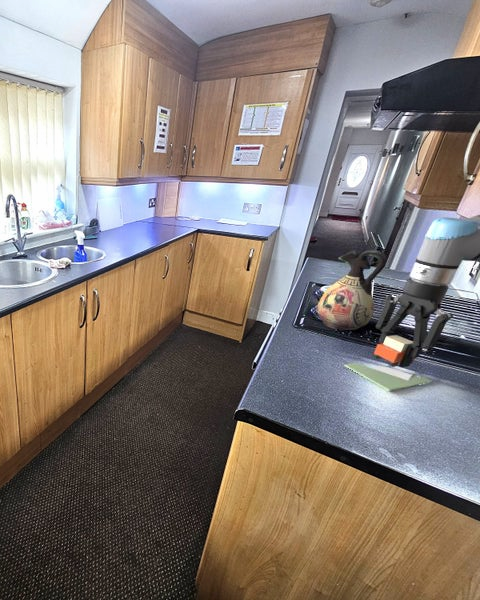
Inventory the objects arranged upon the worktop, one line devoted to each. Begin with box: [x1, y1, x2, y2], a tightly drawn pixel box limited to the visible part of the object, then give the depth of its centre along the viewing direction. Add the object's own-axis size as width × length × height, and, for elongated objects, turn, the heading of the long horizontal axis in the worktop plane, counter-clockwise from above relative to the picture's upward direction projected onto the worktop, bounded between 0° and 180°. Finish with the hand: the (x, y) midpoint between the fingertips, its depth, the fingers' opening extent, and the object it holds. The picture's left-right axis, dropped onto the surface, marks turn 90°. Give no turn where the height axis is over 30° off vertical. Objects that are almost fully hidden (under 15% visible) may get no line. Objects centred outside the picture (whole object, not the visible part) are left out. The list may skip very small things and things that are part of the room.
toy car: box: [373, 334, 416, 368], centre depth 89 cm, size 8×5×7 cm, turn 105°
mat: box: [343, 362, 433, 392], centre depth 92 cm, size 16×12×1 cm
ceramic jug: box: [317, 249, 387, 331], centre depth 112 cm, size 17×15×30 cm
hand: (392, 360), depth 91 cm, fingers closed on toy car, 5 cm apart
